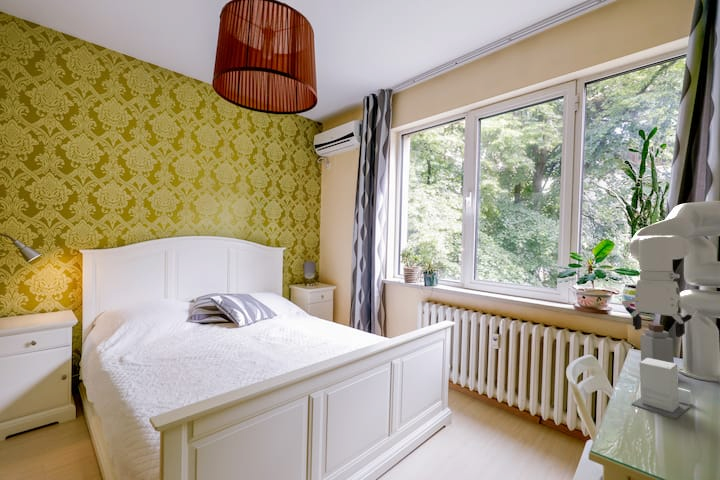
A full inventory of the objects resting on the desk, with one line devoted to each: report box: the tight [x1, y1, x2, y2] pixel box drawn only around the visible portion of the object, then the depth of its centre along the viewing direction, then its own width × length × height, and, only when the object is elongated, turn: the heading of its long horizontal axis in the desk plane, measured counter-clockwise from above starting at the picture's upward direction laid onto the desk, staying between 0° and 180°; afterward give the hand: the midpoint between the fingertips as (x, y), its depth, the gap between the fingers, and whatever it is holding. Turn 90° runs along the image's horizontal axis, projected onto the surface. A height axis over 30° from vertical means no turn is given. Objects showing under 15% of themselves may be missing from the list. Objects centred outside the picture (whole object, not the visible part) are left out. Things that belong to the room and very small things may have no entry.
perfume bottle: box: [639, 323, 675, 363], centre depth 125 cm, size 7×7×18 cm
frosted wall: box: [639, 383, 692, 406], centre depth 105 cm, size 1×12×4 cm, turn 31°
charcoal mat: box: [631, 397, 690, 420], centre depth 99 cm, size 12×10×1 cm
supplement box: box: [638, 358, 680, 412], centre depth 99 cm, size 7×7×13 cm
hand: (657, 332), depth 99 cm, fingers open, 9 cm apart
